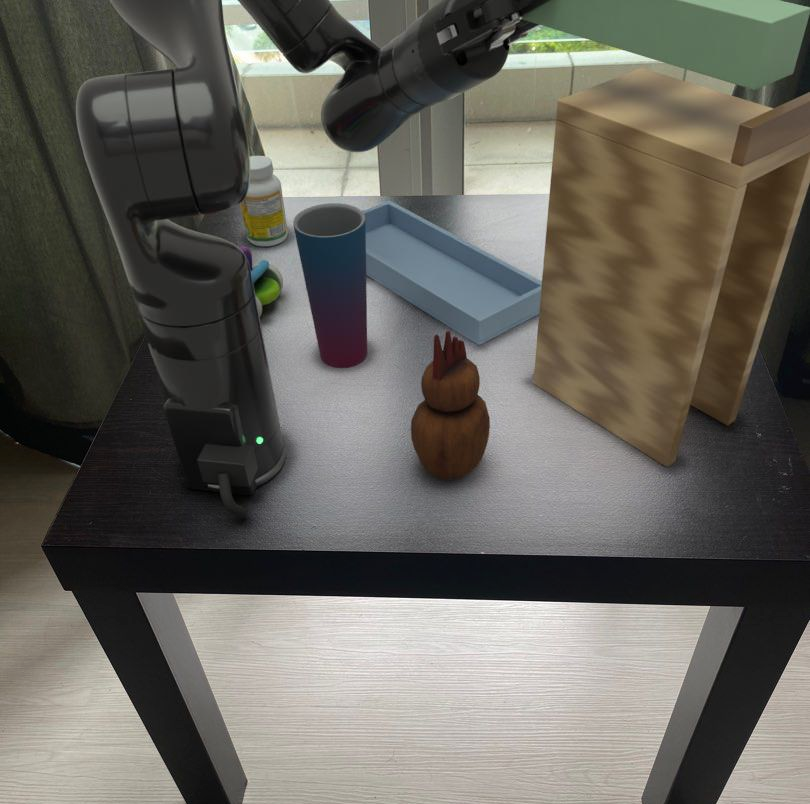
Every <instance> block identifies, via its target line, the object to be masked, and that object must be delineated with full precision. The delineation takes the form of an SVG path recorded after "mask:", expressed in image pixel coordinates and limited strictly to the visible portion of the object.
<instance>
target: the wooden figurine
mask: <svg viewBox="0 0 810 804" xmlns="http://www.w3.org/2000/svg"><path fill="white" fill-rule="evenodd" d="M432 353H433V358H432V361H430V363H429V364H427V365H426V367H425V369H424V371H423V374H422V376H421V383H420V388H421V393H422V396H423V398H424V400H423V401H421V402H420V403H419V404H418V405H417V406H416V409H415V411H414V413H413V416H412V418H411V419H410V420H411V422H410V438H411V443H412V446H413V449H414V451H415V453H416V456H417V458H418V461H419V463H420V465H421V467H422V468H423V469H424V470H425V472H427V474H428V475H429V476H431V477H434V478H436V479H438V480H443V481H451V480H457V479H458V480H459V479H461V478H464V477H465V476H467V475H469V474H471V473H472V472H473V471H474V470H475V469H476V468H477V467H478V465H479V464H480V463H481V461H482V460H483V457H484V455H485V453H486V449H487V447H488V446H487V445H488V443H489V442H488V441H489V439H490V428H491V419H490V418H491V417H490V414H489V410H488V407H487V402H486V401H485V400H484V399H483V398H482V397H481V396H480V394H479V391H480V386H481V379H480V378H481V377H480V372H479V369H478V366H477V364H475V363H474V362H473V361H472V360H471V359H469V358H468V355H467V350H466V345H465V341H464V340H461V339H459V338H458V337H457V336H453V337H452V335H451V331H450V330H446V331H445V336H444V343H443V347H442V343H441V340H440V336H439V334H434V335H433V352H432Z"/></svg>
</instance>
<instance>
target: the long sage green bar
mask: <svg viewBox="0 0 810 804" xmlns="http://www.w3.org/2000/svg"><path fill="white" fill-rule="evenodd" d="M523 16H524V17H523V18H522V19H523V20H526V21H529V22H533V23H536V24H539V25H542V26H541V27H546V28H549V29H552V30H555V31H559V32H561V33H566V34H569V35H572V36H574V37H579V38H582V39H586V40H589V41H592V42H595V43H599V44H602V45H605V46H608V47H612V48H615V49H619V50H622V51H625V52H628V53H631V54H633V55H637V56H640V57H644V58H648V59H651V60H655V61H658V62H661V63H664V64H668V65H671V66H674V67H677V68H681V69H684V70H687V71H690V72H694V73H697V74H700V75H703V76H707V77H711V78H713V79H717V80H720V81H724V82H726V83H729V84H733V85H737V86H740V87H742V88H747V89H749V90H753V91H756V90H759V89H761V88H763V87H765V86H768V85H770V84H772V83H775V82H776V81H779V80H782V79H784V78H787V77H789V76H791V75H793V74H794V72H795V68H796V65H797V61H798V58H799V54H800V50H801V47H802V43H803V39H804V36H805V32H806V28H807V25H808V21H809V17H810V6H804V5H802V4H801V5H800V4H797V3H792V2H788V1H784V0H550V1H548V2H547V3H545V4H543V5H541V6H540V7H538V8H536V9H535V10H533V11H531V12H530V13H528V14H525V15H523Z"/></svg>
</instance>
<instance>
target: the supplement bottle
mask: <svg viewBox="0 0 810 804" xmlns="http://www.w3.org/2000/svg"><path fill="white" fill-rule="evenodd" d="M249 156H250V183H249V189H248V192H247V195H246V198H245V200H244V201H243V202H242V203H241V204H240V210H241V214H242V220H243V226H244V230H245V235H246V239H247V240H248V242H249V243H250V244H251V245H254V246H257V247H272V246H273V247H274V246H277V245H279V244H281V243H283V242H284V241H285V240H286V239H287V237H288V236H289V231H288V223H287V217H286V211H285V204H284V203H285V202H284V196H283V189H282V183H281V180H280V178H279V177H278V176H277V175H276V174H274V170H275V169H274V166H273V160H272V158H271V157H269V156H266V155H249Z"/></svg>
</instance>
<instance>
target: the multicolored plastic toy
mask: <svg viewBox="0 0 810 804" xmlns="http://www.w3.org/2000/svg"><path fill="white" fill-rule="evenodd" d="M237 247H239V248H240V249H241V250H242V251H243V253H244V254H245V256H246V258H247V260H248V262H249V265H250V269H251V274H252V280H253V285H254V290H255V295H256V301H257V306H258V311H259V316H260V317H261V316H262V313H263V306H265V305H268V304H271V303H272V302H274V301H275V300H277V299H278V297H279V296H280V294H281V292H282V290H283V287H284V278H283V275H282V272H281V271H280V270H279V268H278V267H276V266H275V265H273V264H271V263H270V262H269V261H268V260H267V259H262V260H260V262H259V263H258V264H255V265H254V266H253V255H252V251H251V250H250V249H249V248H248V247H247V246H245V245H239V246H238V245H237Z"/></svg>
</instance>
